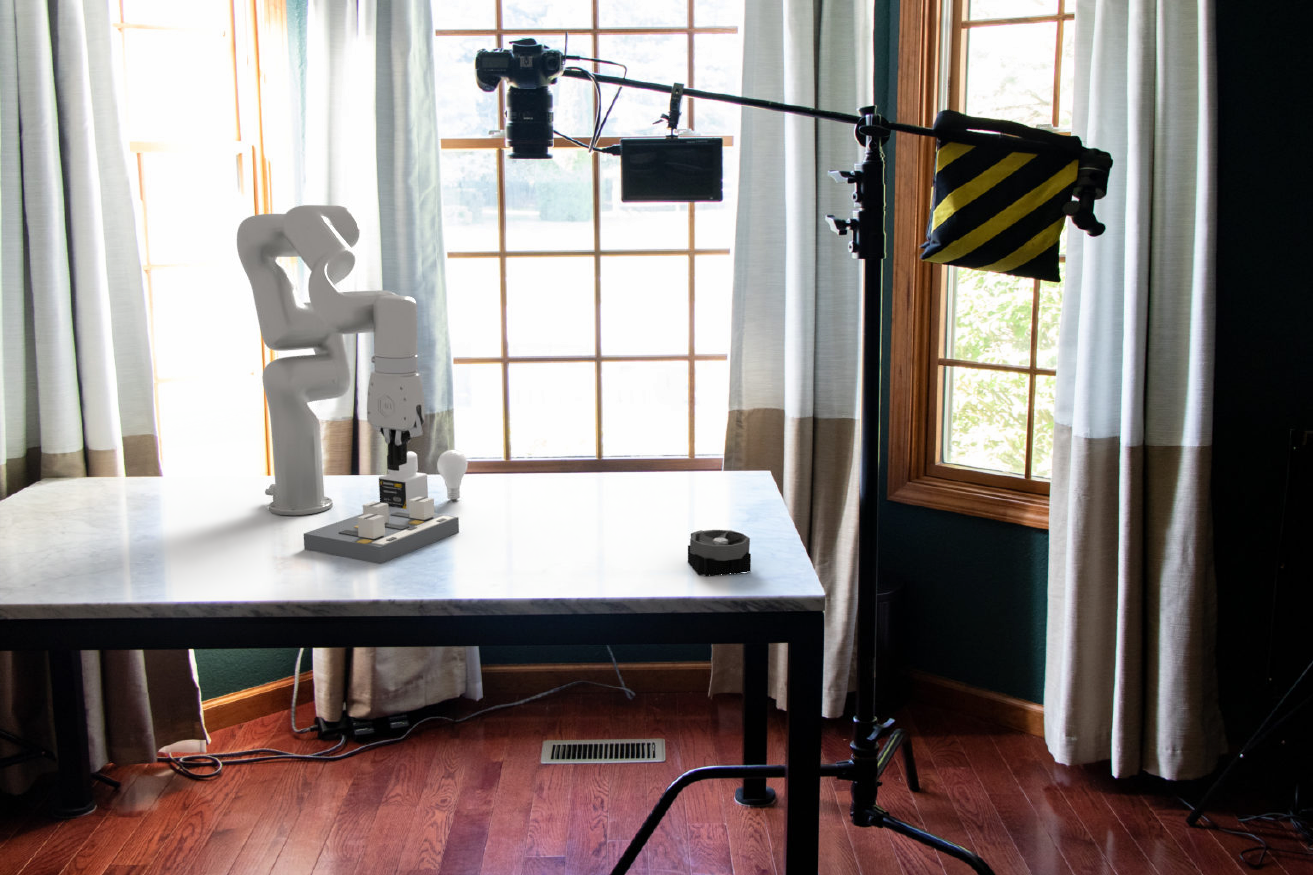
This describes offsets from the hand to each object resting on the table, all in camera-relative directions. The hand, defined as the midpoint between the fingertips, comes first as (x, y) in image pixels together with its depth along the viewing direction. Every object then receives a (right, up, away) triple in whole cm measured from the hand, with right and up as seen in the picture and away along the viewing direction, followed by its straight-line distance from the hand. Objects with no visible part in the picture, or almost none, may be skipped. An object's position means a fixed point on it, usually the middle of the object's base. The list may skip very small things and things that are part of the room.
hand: (397, 464), depth 197 cm
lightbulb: (+4, -9, +34) cm, 35 cm away
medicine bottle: (-5, -10, +27) cm, 30 cm away
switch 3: (+3, -10, +8) cm, 13 cm away
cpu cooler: (+58, -18, -11) cm, 62 cm away
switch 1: (-5, -11, +5) cm, 13 cm away
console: (-4, -14, +4) cm, 16 cm away
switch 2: (-4, -13, -4) cm, 14 cm away
